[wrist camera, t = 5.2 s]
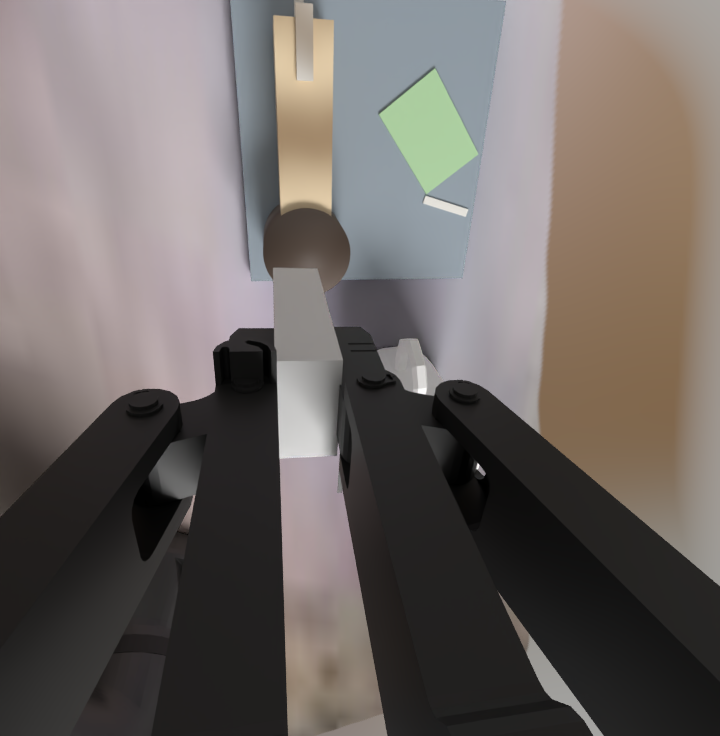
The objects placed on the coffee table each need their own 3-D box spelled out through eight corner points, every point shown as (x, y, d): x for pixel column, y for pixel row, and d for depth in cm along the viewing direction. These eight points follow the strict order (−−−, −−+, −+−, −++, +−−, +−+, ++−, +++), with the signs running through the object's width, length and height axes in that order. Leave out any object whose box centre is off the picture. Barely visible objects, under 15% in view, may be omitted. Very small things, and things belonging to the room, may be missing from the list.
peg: (340, 274, 32) (349, 295, 28) (265, 275, 31) (265, 296, 27) (346, 20, 25) (358, 7, 21) (250, 12, 24) (247, -3, 20)
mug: (440, 294, 35) (494, 353, 27) (434, 420, 41) (477, 501, 33) (336, 305, 34) (358, 370, 26) (345, 433, 40) (365, 520, 32)
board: (251, 275, 32) (250, 281, 31) (230, -20, 24) (227, -27, 23) (456, 272, 35) (463, 279, 33) (497, 4, 27) (507, 0, 26)
